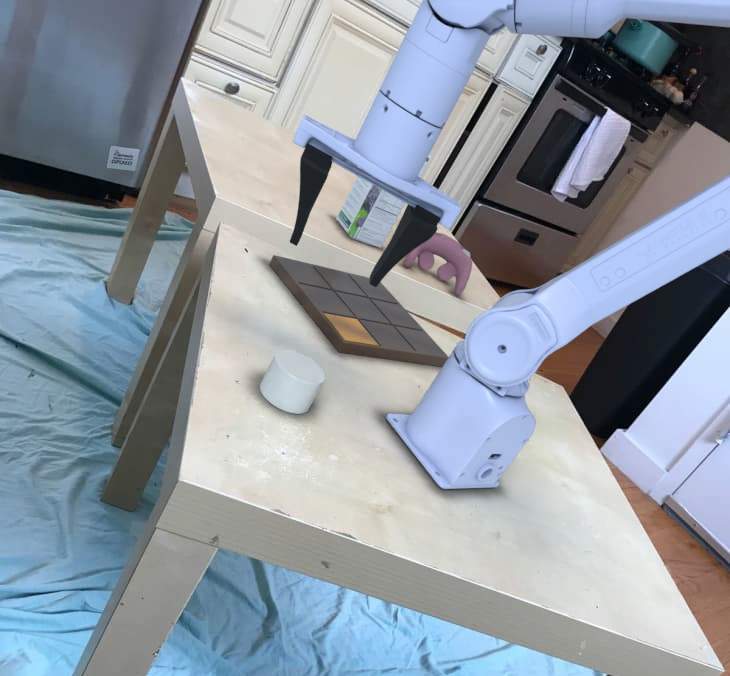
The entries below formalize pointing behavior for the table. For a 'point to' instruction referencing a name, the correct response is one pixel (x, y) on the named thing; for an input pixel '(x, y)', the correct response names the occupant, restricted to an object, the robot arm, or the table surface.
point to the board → (357, 313)
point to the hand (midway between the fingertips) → (334, 261)
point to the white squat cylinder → (292, 381)
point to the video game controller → (450, 252)
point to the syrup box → (370, 211)
